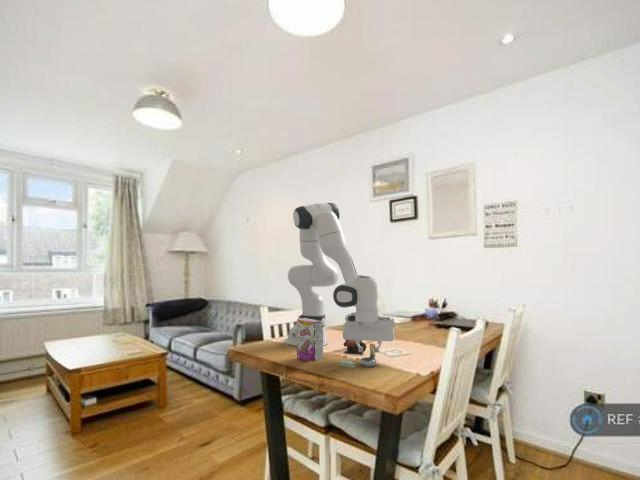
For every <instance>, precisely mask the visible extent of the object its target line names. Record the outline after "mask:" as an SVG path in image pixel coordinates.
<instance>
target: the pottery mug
mask: <svg viewBox="0 0 640 480" xmlns="http://www.w3.org/2000/svg"><path fill="white" fill-rule="evenodd" d="M359 344H360V346H362V347H363V351H362V352H359V350H358V346H357V345H356V343H355V340H345V342H343V344H342V345H343V347H346V350H345V351H343V353H344V354H349V355H357V354H359V355H360V354H363V353H365V352H366V349H367V344H366V343H365V342H364V341H363V340H360V342H359Z"/></svg>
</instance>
